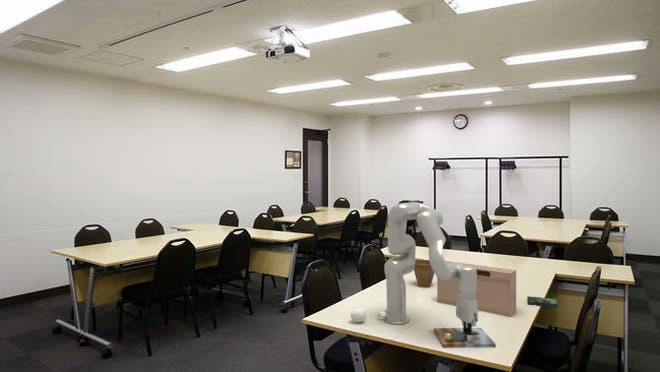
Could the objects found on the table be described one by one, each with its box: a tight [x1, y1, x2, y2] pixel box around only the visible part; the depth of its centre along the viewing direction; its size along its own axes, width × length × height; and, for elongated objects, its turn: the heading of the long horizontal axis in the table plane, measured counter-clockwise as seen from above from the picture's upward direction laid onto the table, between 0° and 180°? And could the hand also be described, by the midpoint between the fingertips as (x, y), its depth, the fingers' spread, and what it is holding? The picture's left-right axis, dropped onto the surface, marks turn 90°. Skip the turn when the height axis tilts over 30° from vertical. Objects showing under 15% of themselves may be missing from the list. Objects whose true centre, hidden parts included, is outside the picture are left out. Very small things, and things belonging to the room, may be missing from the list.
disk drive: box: [526, 295, 559, 309], centre depth 232 cm, size 10×3×15 cm
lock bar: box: [445, 332, 479, 342], centre depth 179 cm, size 14×3×3 cm, turn 93°
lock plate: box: [432, 327, 496, 348], centre depth 184 cm, size 22×18×4 cm
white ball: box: [350, 306, 368, 324], centre depth 207 cm, size 8×8×8 cm
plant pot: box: [413, 259, 435, 289], centre depth 271 cm, size 15×15×16 cm
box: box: [436, 260, 517, 318], centre depth 227 cm, size 10×40×22 cm, turn 50°
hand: (467, 335), depth 182 cm, fingers closed
